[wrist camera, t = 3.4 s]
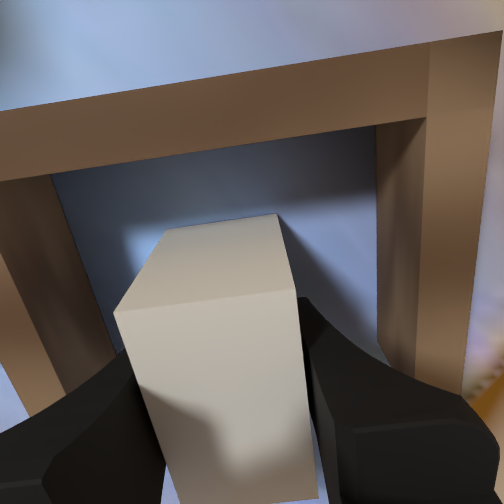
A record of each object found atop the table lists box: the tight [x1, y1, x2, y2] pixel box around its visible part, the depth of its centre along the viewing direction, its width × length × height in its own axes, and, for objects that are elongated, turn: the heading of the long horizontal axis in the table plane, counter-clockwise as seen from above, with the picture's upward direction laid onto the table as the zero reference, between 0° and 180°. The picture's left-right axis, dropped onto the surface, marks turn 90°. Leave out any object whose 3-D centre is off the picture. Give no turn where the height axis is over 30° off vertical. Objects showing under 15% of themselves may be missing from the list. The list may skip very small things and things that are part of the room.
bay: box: [0, 30, 503, 417], centre depth 11 cm, size 10×14×4 cm
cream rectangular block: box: [113, 213, 319, 504], centre depth 12 cm, size 8×4×6 cm, turn 8°
